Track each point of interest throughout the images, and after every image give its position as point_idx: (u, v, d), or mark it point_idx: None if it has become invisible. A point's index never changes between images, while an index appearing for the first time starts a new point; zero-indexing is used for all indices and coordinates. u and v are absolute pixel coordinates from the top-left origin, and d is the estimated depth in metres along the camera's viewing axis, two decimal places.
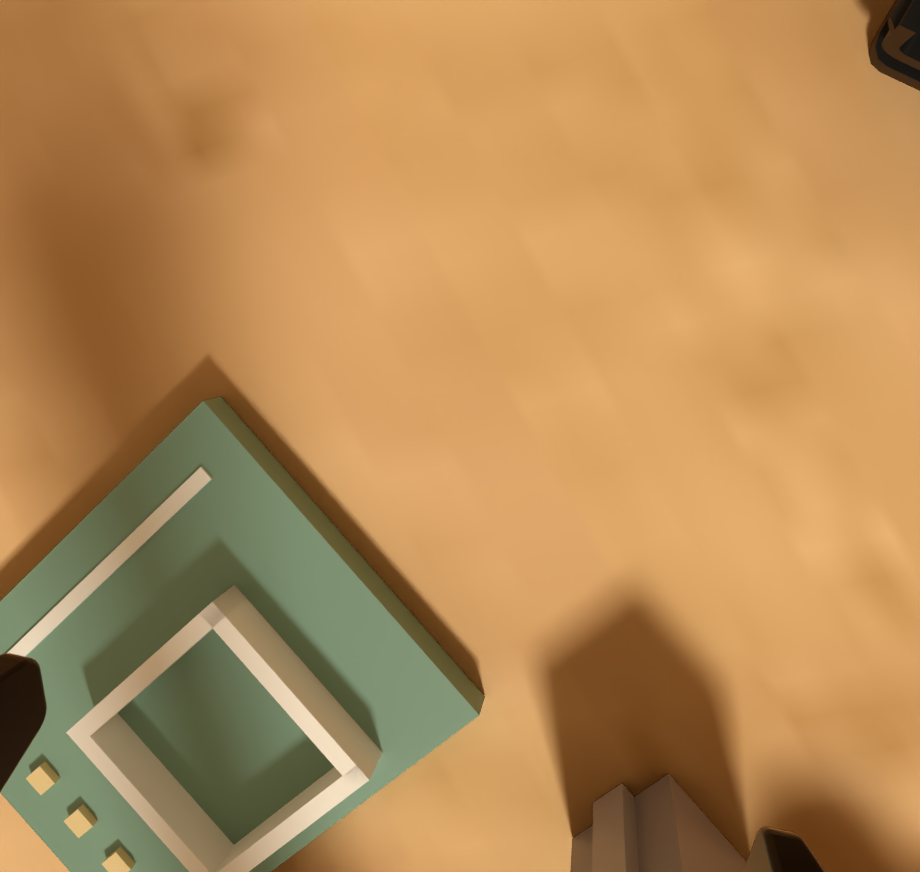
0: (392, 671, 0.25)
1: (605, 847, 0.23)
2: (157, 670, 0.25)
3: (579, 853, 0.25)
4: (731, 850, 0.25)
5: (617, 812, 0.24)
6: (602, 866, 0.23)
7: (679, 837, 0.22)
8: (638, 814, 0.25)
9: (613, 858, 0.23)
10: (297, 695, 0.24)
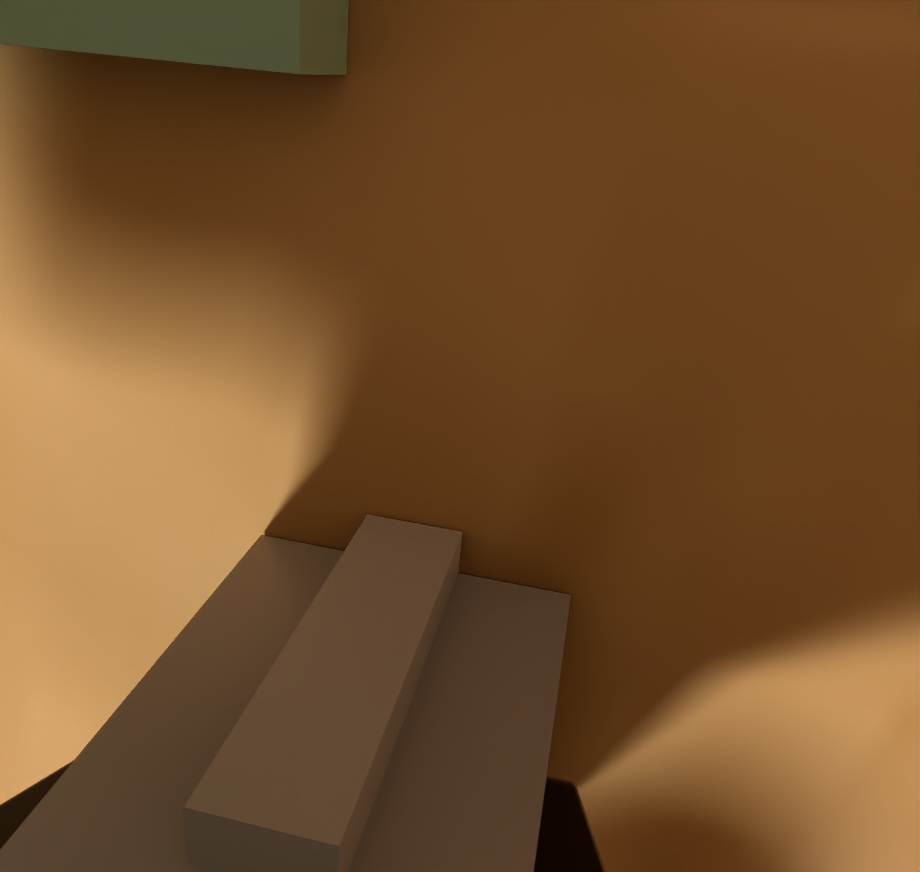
0: None
1: (330, 659, 0.07)
2: None
3: (253, 583, 0.09)
4: None
5: (416, 591, 0.08)
6: (292, 711, 0.07)
7: None
8: (451, 625, 0.09)
9: (338, 718, 0.07)
10: None
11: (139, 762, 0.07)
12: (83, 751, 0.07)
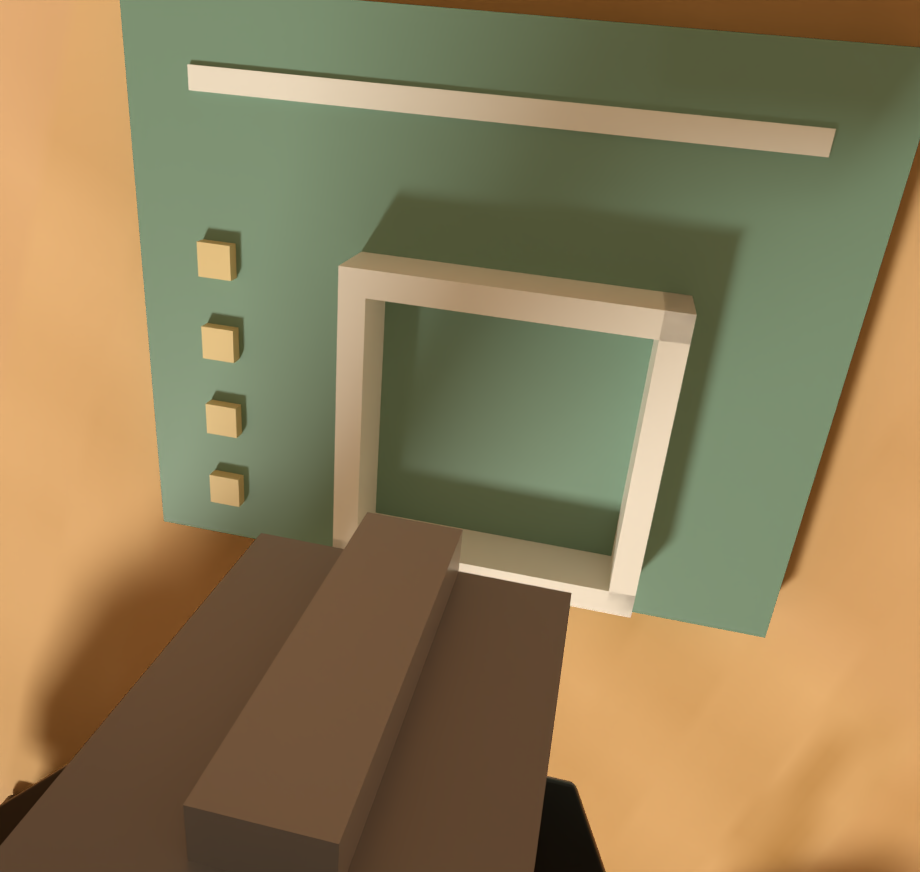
0: (739, 532, 0.19)
1: (331, 657, 0.07)
2: (534, 315, 0.16)
3: (252, 581, 0.09)
4: None
5: (416, 590, 0.08)
6: (291, 709, 0.07)
7: (542, 800, 0.07)
8: (451, 623, 0.09)
9: (338, 716, 0.07)
10: (658, 488, 0.17)
11: (138, 760, 0.07)
12: (82, 749, 0.07)
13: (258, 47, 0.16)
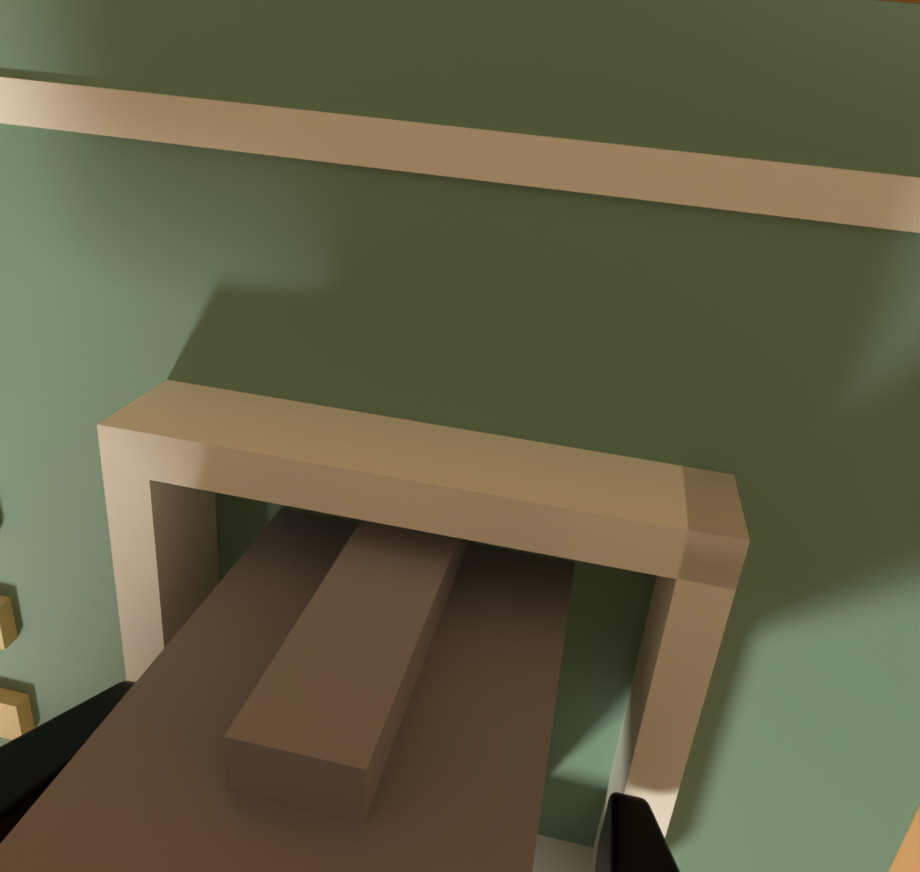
0: (802, 834, 0.11)
1: (354, 613, 0.08)
2: (446, 524, 0.09)
3: (275, 551, 0.10)
4: None
5: (430, 555, 0.09)
6: (319, 657, 0.07)
7: (549, 742, 0.08)
8: (463, 589, 0.09)
9: (361, 663, 0.07)
10: (672, 805, 0.10)
11: (177, 705, 0.07)
12: (125, 696, 0.08)
13: None
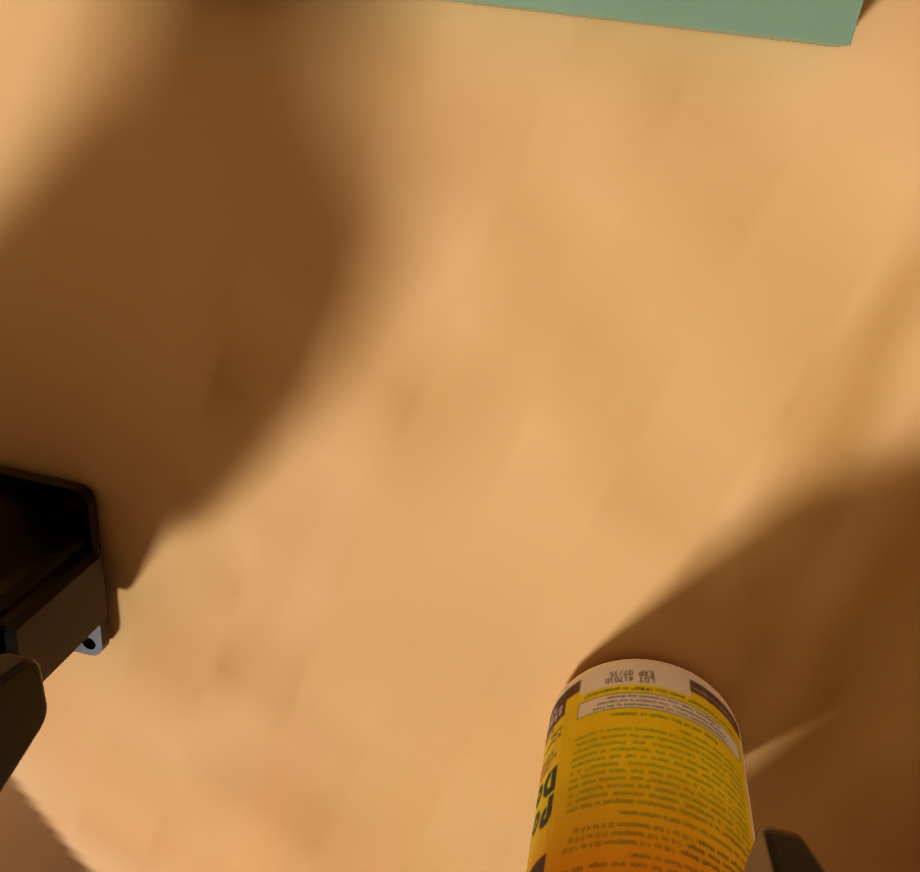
0: None
1: None
2: None
3: None
4: None
5: None
6: None
7: None
8: None
9: None
10: None
11: None
12: None
13: None
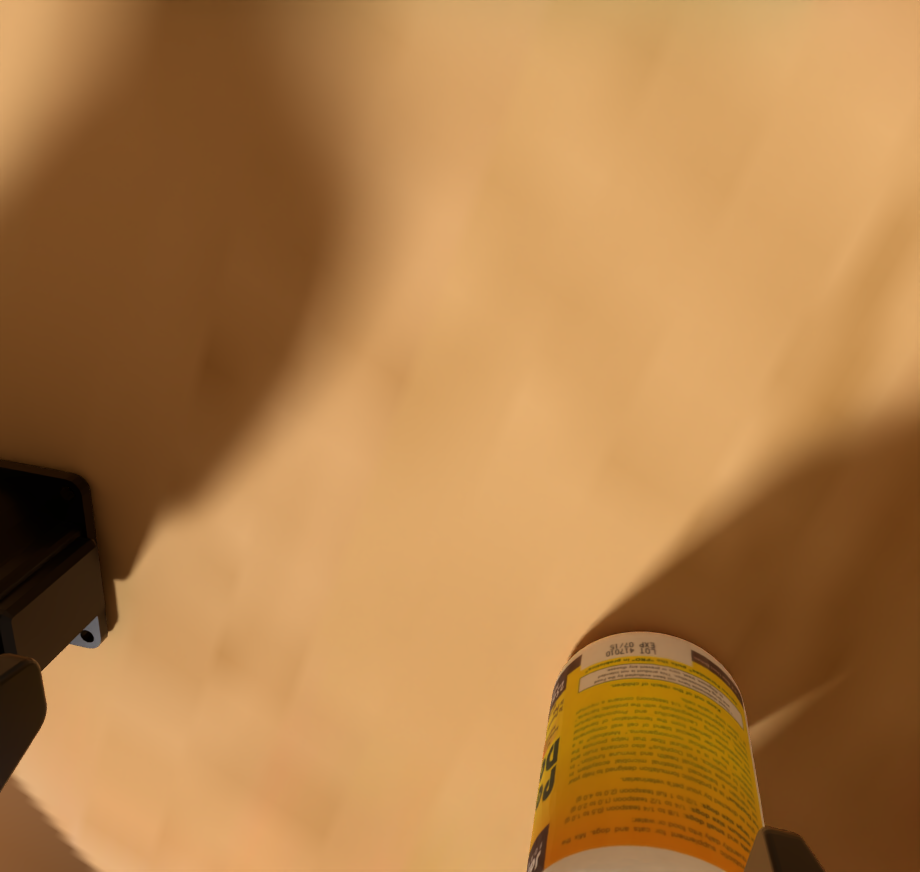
0: None
1: None
2: None
3: None
4: None
5: None
6: None
7: None
8: None
9: None
10: None
11: None
12: None
13: None
